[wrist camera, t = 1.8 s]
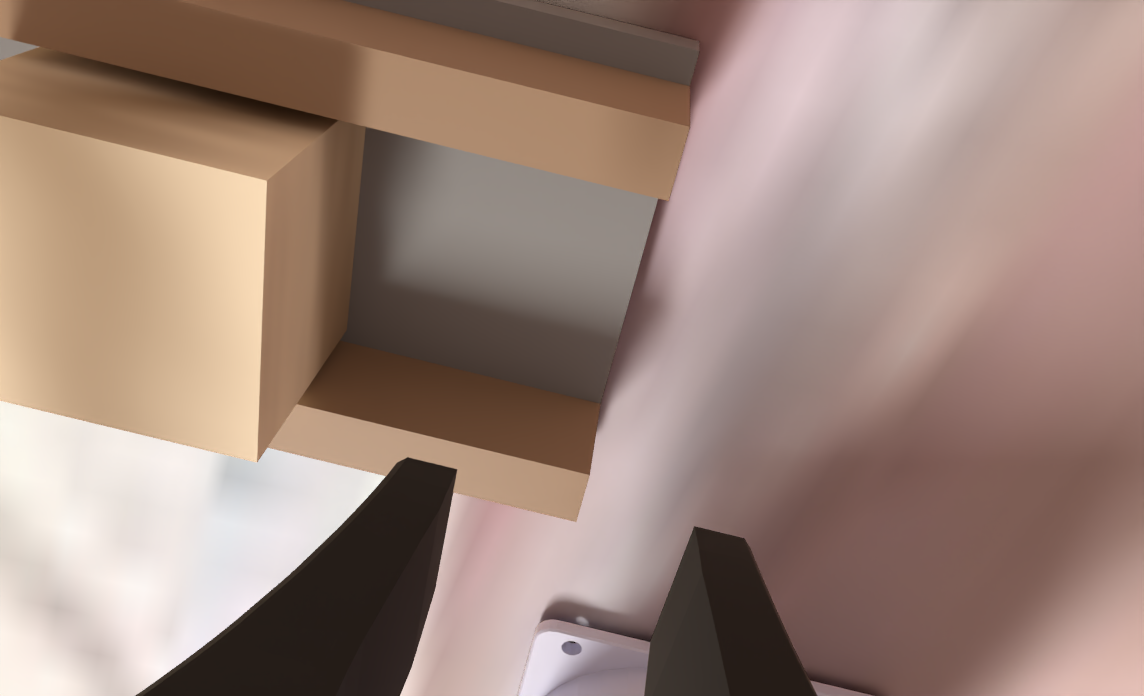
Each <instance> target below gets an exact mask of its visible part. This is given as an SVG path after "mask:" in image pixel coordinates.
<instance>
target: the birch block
mask: <svg viewBox="0 0 1144 696" xmlns="http://www.w3.org/2000/svg"><path fill="white" fill-rule="evenodd" d="M365 130H366V127H365V126H361V125H357V124H353V123H349V122H344V121H340V120H336V119H332V118H328V117H324V116H320V115H316V114H312V113H308V112H304V111H300V110H296V109H292V108H287V107H283V106H279V105H275V104H271V103H267V102H263V101H259V100H255V99H251V98H247V97H243V96H239V95H235V94H230V93H226V92H222V91H218V90H214V89H210V88H206V87H202V86H198V85H194V84H190V83H186V82H182V81H178V80H173V79H169V78H165V77H161V76H157V75H153V74H149V73H145V72H141V71H137V70H133V69H129V68H125V67H121V66H116V65H112V64H108V63H104V62H100V61H96V60H92V59H88V58H84V57H80V56H76V55H72V54H68V53H64V52H59V51H55V50H51V49H47V48H43V47H38V48H35V49H32V50H29V51H26V52H23V53H20V54H17V55H14V56H12V57H9V58H6V59H3V60H0V401H4V402H8V403H12V404H16V405H21V406H25V407H29V408H33V409H37V410H41V411H46V412H50V413H54V414H58V415H62V416H66V417H70V418H75V419H79V420H83V421H87V422H91V423H95V424H100V425H104V426H108V427H112V428H116V429H120V430H124V431H129V432H133V433H137V434H141V435H145V436H149V437H153V438H158V439H162V440H166V441H170V442H174V443H178V444H183V445H187V446H191V447H195V448H199V449H203V450H207V451H212V452H216V453H220V454H224V455H228V456H232V457H237V458H241V459H245V460H249V461H253V462H258V460H259V459H260V457H261V456H262V454H263V453H264V452H265V450H266V449H267V447H268V446H269V444H270V443H271V441H272V440H273V438H274V437H275V435H276V434H277V432H278V431H279V429H280V428H281V426H282V425H283V423H284V422H285V421H286V419H287V418H288V416H289V415H290V413H291V412H292V410H293V409H294V407H295V406H296V404H297V403H298V401H299V400H300V398H301V397H302V395H303V394H304V392H305V391H306V389H307V388H308V387H309V385H310V384H311V382H312V381H313V379H314V378H315V376H316V375H317V373H318V372H319V370H320V369H321V367H322V366H323V364H324V363H325V361H326V360H327V358H328V357H329V356H330V354H331V353H332V351H333V350H334V348H335V347H336V345H337V344H338V342H339V341H340V339H341V338H342V336H343V335H344V333H345V332H346V330H347V323H348V312H349V301H350V291H351V280H352V269H353V259H354V248H355V237H356V226H357V216H358V205H359V194H360V184H361V173H362V162H363V151H364V141H365Z"/></svg>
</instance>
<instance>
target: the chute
mask: <svg viewBox="0 0 1144 696" xmlns="http://www.w3.org/2000/svg"><path fill="white" fill-rule="evenodd" d="M38 47H43V48H47V49H51V50H55V51H59V52H64V53H68V54H72V55H76V56H80V57H84V58H88V59H92V60H96V61H100V62H104V63H108V64H112V65H116V66H121V67H125V68H129V69H133V70H137V71H141V72H145V73H149V74H153V75H157V76H161V77H165V78H169V79H173V80H178V81H182V82H186V83H190V84H194V85H198V86H202V87H206V88H210V89H214V90H218V91H222V92H226V93H230V94H235V95H239V96H243V97H247V98H251V99H255V100H259V101H263V102H267V103H271V104H275V105H279V106H283V107H287V108H292V109H296V110H300V111H304V112H308V113H312V114H316V115H320V116H324V117H328V118H332V119H336V120H340V121H344V122H349V123H353V124H357V125H361V126H365V127H366V130H365V141H364V151H363V162H362V173H361V184H360V194H359V205H358V216H357V226H356V237H355V248H354V259H353V269H352V280H351V291H350V301H349V312H348V323H347V330H346V332H345V333H344V335H343V336H342V338H341V339H340V341H339V342H338V344H337V345H336V347H335V348H334V350H333V351H332V353H331V354H330V356H329V357H328V358H327V360H326V361H325V363H324V364H323V366H322V367H321V369H320V370H319V372H318V373H317V375H316V376H315V378H314V379H313V381H312V382H311V384H310V385H309V387H308V388H307V389H306V391H305V392H304V394H303V395H302V397H301V398H300V400H299V401H298V403H297V404H296V406H295V407H294V409H293V410H292V412H291V413H290V415H289V416H288V418H287V419H286V421H285V422H284V423H283V425H282V426H281V428H280V429H279V431H278V432H277V434H276V435H275V437H274V438H273V440H272V441H271V443H270V444H269V446H268V448H272V449H276V450H280V451H284V452H288V453H292V454H297V455H301V456H305V457H309V458H313V459H317V460H321V461H326V462H330V463H334V464H338V465H342V466H346V467H351V468H355V469H359V470H363V471H367V472H371V473H375V474H380V475H384V476H387V475H388V473H389V472H390V471H391V470H392V468H393V467H394V466H395V464H396V463H397V462H399V461H401V460H403V459H405V458H407V457H409V458H413V459H417V460H421V461H425V462H430V463H434V464H438V465H442V466H446V467H450V468H454V469H457V474H456V480H455V485H454V490H453V492H454V493H458V494H463V495H467V496H471V497H475V498H479V499H483V500H487V501H492V502H496V503H500V504H504V505H508V506H512V507H516V508H521V509H525V510H529V511H533V512H537V513H541V514H545V515H550V516H554V517H558V518H562V519H566V520H570V521H575V522H576V521H577V517H578V514H579V510H580V507H581V503H582V500H583V496H584V493H585V489H586V486H587V482H588V479H589V476H590V469H591V463H592V456H593V450H594V443H595V437H596V430H597V424H598V417H599V410H600V404H601V400H602V397H603V393H604V390H605V386H606V383H607V379H608V375H609V372H610V368H611V365H612V361H613V358H614V354H615V351H616V347H617V343H618V340H619V336H620V333H621V329H622V326H623V322H624V319H625V315H626V311H627V308H628V304H629V301H630V297H631V294H632V290H633V287H634V283H635V279H636V276H637V272H638V269H639V265H640V262H641V258H642V255H643V251H644V247H645V244H646V240H647V237H648V233H649V230H650V226H651V223H652V219H653V215H654V212H655V208H656V205H657V201H658V199H662V200H666V201H669V198H670V195H671V191H672V188H673V184H674V181H675V177H676V174H677V170H678V167H679V163H680V160H681V156H682V153H683V149H684V146H685V142H686V139H687V136H688V132H689V129H690V84H691V80H692V77H693V73H694V70H695V66H696V63H697V59H698V55H699V52H700V46H699V41H697V40H693V39H689V38H685V37H681V36H677V35H673V34H669V33H665V32H661V31H657V30H653V29H649V28H645V27H641V26H637V25H632V24H628V23H624V22H620V21H616V20H612V19H608V18H604V17H600V16H596V15H592V14H588V13H584V12H580V11H576V10H572V9H568V8H564V7H560V6H556V5H552V4H548V3H544V2H540V1H536V0H0V60H3V59H6V58H9V57H12V56H14V55H17V54H20V53H23V52H26V51H29V50H32V49H35V48H38Z"/></svg>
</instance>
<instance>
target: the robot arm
mask: <svg viewBox="0 0 1144 696" xmlns="http://www.w3.org/2000/svg"><path fill="white" fill-rule="evenodd" d="M456 474H457V469H454V468H450V467H446V466H442V465H438V464H434V463H430V462H425V461H421V460H417V459H413V458H409V457H407V458H405V459H403V460H401V461H399V462H397V463H396V464H395V466H394V467H393V468H392V470H391V471H390V472H389V473H388V475H387V476H386V477H385V478H384V479H383V481H382V482H381V483H380V484H379V485H378V486H377V488H376V489H375V490H374V491H373V492H372V493H371V494H370V495H369V497H368V498H367V499H366V500H365V501H364V502H363V503H362V504H361V505H360V506H359V507H358V508H357V509H356V511H355V512H354V513H353V514H352V515H351V516H350V517H349V518H348V519H347V520H346V521H345V522H344V523H343V524H342V525H341V526H340V527H339V528H338V529H337V530H336V531H335V532H334V533H333V534H332V535H331V536H330V537H329V538H328V539H327V540H326V541H325V542H324V543H323V544H321V545H320V546H319V547H318V548H317V549H316V550H315V551H314V552H313V553H312V554H311V555H310V556H309V557H308V558H307V559H306V560H305V561H304V562H303V563H302V564H301V565H299V566H298V567H297V568H296V569H295V570H294V571H293V572H292V573H291V574H290V575H289V576H288V577H286V578H285V579H284V580H283V581H282V582H281V583H279V584H278V585H277V586H276V587H275V588H274V589H272V590H271V591H270V592H269V593H268V594H267V595H265V596H264V597H263V598H262V599H261V600H260V601H258V602H257V603H256V604H255V605H254V606H252V607H251V608H250V609H249V610H248V611H247V612H245V613H244V614H243V615H242V616H241V617H240V618H238V619H237V620H236V621H235V622H234V623H232V624H231V625H230V626H229V627H227V628H226V629H225V630H224V631H222V632H221V633H220V634H219V635H217V636H216V637H215V638H213V639H212V640H211V641H210V642H208V643H207V644H206V645H205V646H203V647H202V648H201V649H199V650H198V651H197V652H195V653H194V654H193V655H191V656H190V657H189V658H187V659H186V660H185V661H183V662H182V663H181V664H179V665H178V666H176V667H175V668H174V669H172V670H171V671H170V672H168V673H167V674H165V675H164V676H163V677H161V678H160V679H159V680H157V681H156V682H154V683H153V684H152V685H150V686H149V687H147V688H146V689H145V690H143V691H142V692H140V693H139V694H137V695H136V696H400V694H401V691H402V689H403V687H404V684H405V682H406V679H407V677H408V675H409V672H410V670H411V667H412V664H413V661H414V657H415V654H416V651H417V647H418V644H419V641H420V638H421V634H422V631H423V628H424V624H425V621H426V618H427V614H428V611H429V608H430V604H431V601H432V598H433V594H434V591H435V587H436V581H437V576H438V571H439V565H440V560H441V555H442V549H443V544H444V538H445V533H446V528H447V522H448V517H449V512H450V506H451V501H452V496H453V490H454V485H455V480H456ZM568 641H574V642H576V643H570V642H568ZM517 696H873V695H869V694H865V693H860V692H856V691H852V690H848V689H844V688H840V687H835V686H831V685H827V684H823V683H819V682H815V681H810V680H809V678H808V676H807V674H806V672H805V670H804V668H803V666H802V664H801V662H800V660H799V658H798V656H797V653H796V651H795V649H794V647H793V645H792V643H791V641H790V639H789V637H788V634H787V632H786V630H785V628H784V626H783V623H782V621H781V619H780V617H779V615H778V612H777V610H776V608H775V606H774V603H773V601H772V599H771V597H770V594H769V592H768V590H767V587H766V585H765V583H764V580H763V578H762V576H761V573H760V571H759V568H758V566H757V564H756V561H755V559H754V556H753V554H752V552H751V549H750V547H749V546H748V544H747V542H746V541H745V539H744V538H740V537H736V536H732V535H728V534H724V533H720V532H715V531H711V530H707V529H703V528H699V527H695V526H694V529H693V531H692V534H691V537H690V539H689V542H688V544H687V547H686V550H685V552H684V555H683V557H682V560H681V563H680V565H679V568H678V570H677V573H676V576H675V578H674V581H673V584H672V586H671V589H670V591H669V594H668V597H667V599H666V602H665V604H664V607H663V610H662V612H661V615H660V617H659V620H658V623H657V625H656V628H655V631H654V633H653V636H652V638H651V641H650V642H648V641H644V640H639V639H635V638H631V637H627V636H623V635H619V634H614V633H610V632H606V631H602V630H598V629H594V628H589V627H585V626H581V625H577V624H573V623H568V622H564V621H560V620H553V619H551V620H545V621H543V622H541V623H539V624H538V626H537V627H536V630H535V633H534V637H533V640H532V644H531V647H530V651H529V655H528V658H527V662H526V665H525V669H524V672H523V676H522V680H521V683H520V687H519V690H518V694H517Z"/></svg>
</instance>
